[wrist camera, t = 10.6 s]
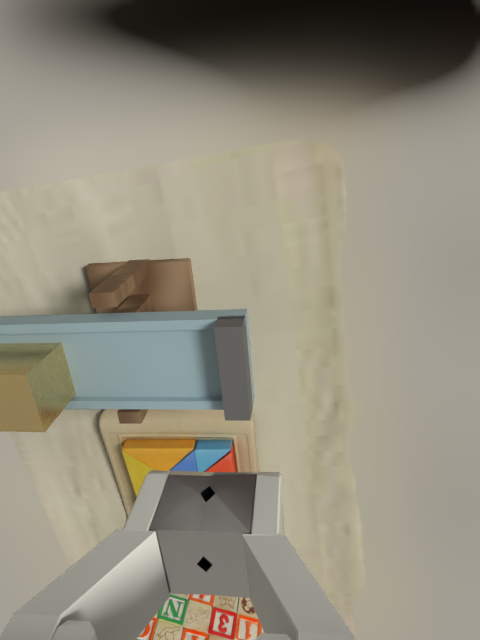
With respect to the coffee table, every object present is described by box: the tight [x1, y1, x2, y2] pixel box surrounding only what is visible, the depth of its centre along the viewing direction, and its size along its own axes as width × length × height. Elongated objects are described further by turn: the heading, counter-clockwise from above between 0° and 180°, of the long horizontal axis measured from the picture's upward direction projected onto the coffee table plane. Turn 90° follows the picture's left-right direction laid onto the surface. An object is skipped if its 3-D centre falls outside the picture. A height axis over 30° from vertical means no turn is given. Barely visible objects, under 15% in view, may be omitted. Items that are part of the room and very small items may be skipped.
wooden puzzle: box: [99, 409, 258, 517], centre depth 50 cm, size 18×19×4 cm
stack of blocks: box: [136, 594, 265, 640], centre depth 53 cm, size 21×6×12 cm, turn 76°
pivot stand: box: [85, 258, 197, 424], centre depth 39 cm, size 10×12×9 cm
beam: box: [0, 309, 254, 421], centre depth 35 cm, size 22×8×3 cm, turn 95°
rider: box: [0, 343, 76, 432], centre depth 34 cm, size 6×5×5 cm
